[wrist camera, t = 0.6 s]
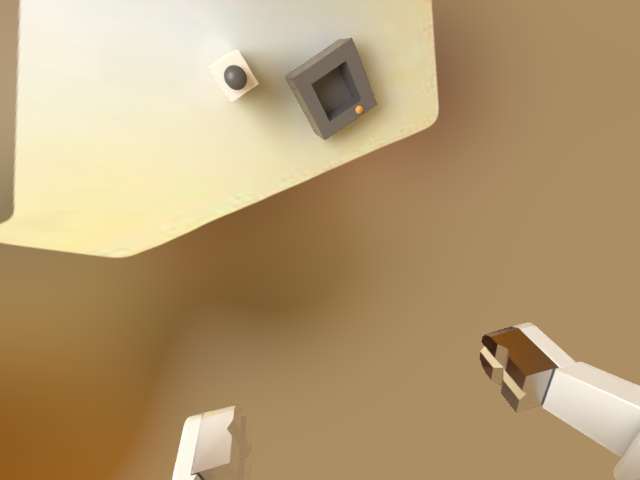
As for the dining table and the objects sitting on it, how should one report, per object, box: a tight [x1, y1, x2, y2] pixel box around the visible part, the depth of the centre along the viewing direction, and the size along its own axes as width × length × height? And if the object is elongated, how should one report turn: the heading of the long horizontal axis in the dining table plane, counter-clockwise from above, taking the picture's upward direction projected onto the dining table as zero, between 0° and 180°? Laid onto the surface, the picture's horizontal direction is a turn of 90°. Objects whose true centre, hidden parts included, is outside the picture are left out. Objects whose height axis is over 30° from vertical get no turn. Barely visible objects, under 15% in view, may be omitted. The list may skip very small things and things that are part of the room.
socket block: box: [285, 38, 377, 140], centre depth 47 cm, size 10×10×5 cm
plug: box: [208, 49, 259, 103], centre depth 38 cm, size 4×4×13 cm
